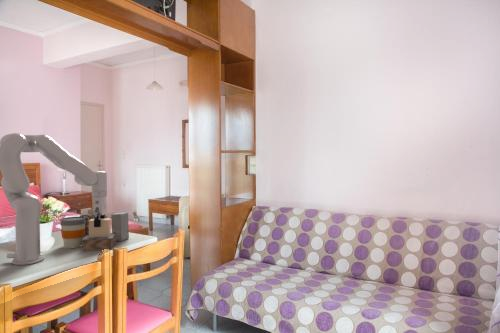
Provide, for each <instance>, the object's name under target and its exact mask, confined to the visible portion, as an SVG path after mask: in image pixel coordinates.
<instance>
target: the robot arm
mask: <svg viewBox="0 0 500 333" xmlns="http://www.w3.org/2000/svg"><path fill="white" fill-rule="evenodd" d="M22 153H39V154H41V155H42V156H43V157H45V158H46V159H47V160H49V161H50V163H52V164H53V165H54V166H55V167H57V168H59V169H61V170H64V171H65V172H68V173H70V174H71V175H72V176H74V181H75V183H77V184H78V185H80V186H86V187H91V197H92V198H93V202H92V203H93V205H92V209H93V214H94V215H95V216H94V227H101V219H105V215H106V214H107V212H108V211H107V197H108V173H107V172H106V171H104V170H97V171H96V170H95V171H94V170H92V168H90V167H89V166H88V165H86V164H85V163H84V162H82V161H81V160H80V159H78V158H77V157H75V156H74V155H72V154H71V153H70V152H69V151H67V150H66V149H65V148H63V147H62V146H61V145H60V144H59V143H58V142H57V141H55V139H53V138H52V137H51V136H49V135H47V134H35V135H34V134H33V135H31V134H21V133H17V132H13V133H8V134H5V135H3V136H2V137H1V138H0V172H1V176H2V177H1V180H0V187H1V188H2V191H3V193H4V195H5V198H6V200H7V202H8V204H9V205H10V207H11V209H12V210H13V211H14V212H16V214H15V223H14V224H15V227H14V228H15V252H9V253H8V252H7V253H6V259H12V260H11V263H12V265H15V266H25V265H26V266H27V265H32V264H37V263H41V262H43V261H44V260H45V256H44V255H42V254H41V211H42V203H41V200H40V198H38V197H37V196H36V195H34V194H33V193H30V190H29V188H30V185H31V183H30V179H29V177H28V173H27V172H26V170H25V167H24V165H23V163H22V160H21V154H22ZM98 216H99V217H98Z"/></svg>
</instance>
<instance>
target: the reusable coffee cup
mask: <svg viewBox="0 0 500 333" xmlns="http://www.w3.org/2000/svg"><path fill="white" fill-rule="evenodd" d="M85 223H86V219H85V217H79V216H69V217H63V218H61V219H60V228H61V229H60V233H61V238H62V241H63V246H64V247H65V248H67V249H68V248H71V249H72V248H78V247H82V246H83V240H82V239H83V237H84V236H85ZM81 245H82V246H81Z"/></svg>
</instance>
